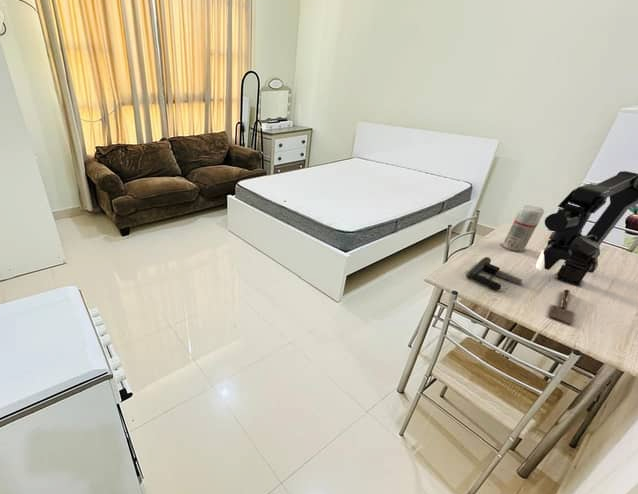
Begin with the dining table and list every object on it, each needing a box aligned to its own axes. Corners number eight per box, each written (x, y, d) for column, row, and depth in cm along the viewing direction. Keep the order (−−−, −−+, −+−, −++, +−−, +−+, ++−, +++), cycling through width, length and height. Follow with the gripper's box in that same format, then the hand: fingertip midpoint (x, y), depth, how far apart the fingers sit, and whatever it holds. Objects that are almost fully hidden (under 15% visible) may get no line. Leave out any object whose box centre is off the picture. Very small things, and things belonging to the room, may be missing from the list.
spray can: (528, 253, 142) (550, 211, 132) (507, 251, 143) (528, 210, 133) (518, 244, 149) (538, 204, 139) (498, 242, 151) (517, 202, 141)
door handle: (528, 272, 124) (482, 254, 134) (512, 292, 113) (463, 270, 123) (523, 279, 126) (478, 260, 136) (507, 299, 115) (460, 277, 125)
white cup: (543, 274, 110) (553, 257, 107) (528, 263, 116) (537, 247, 113) (563, 274, 110) (574, 257, 107) (547, 264, 116) (557, 247, 113)
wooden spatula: (574, 295, 115) (577, 292, 115) (569, 324, 102) (572, 321, 101) (556, 289, 118) (558, 286, 118) (549, 317, 105) (552, 313, 104)
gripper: (604, 243, 94) (576, 286, 102) (605, 225, 105) (580, 264, 113) (555, 231, 101) (532, 272, 109) (561, 215, 112) (540, 253, 120)
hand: (547, 265), depth 113 cm, fingers closed on white cup, 6 cm apart
